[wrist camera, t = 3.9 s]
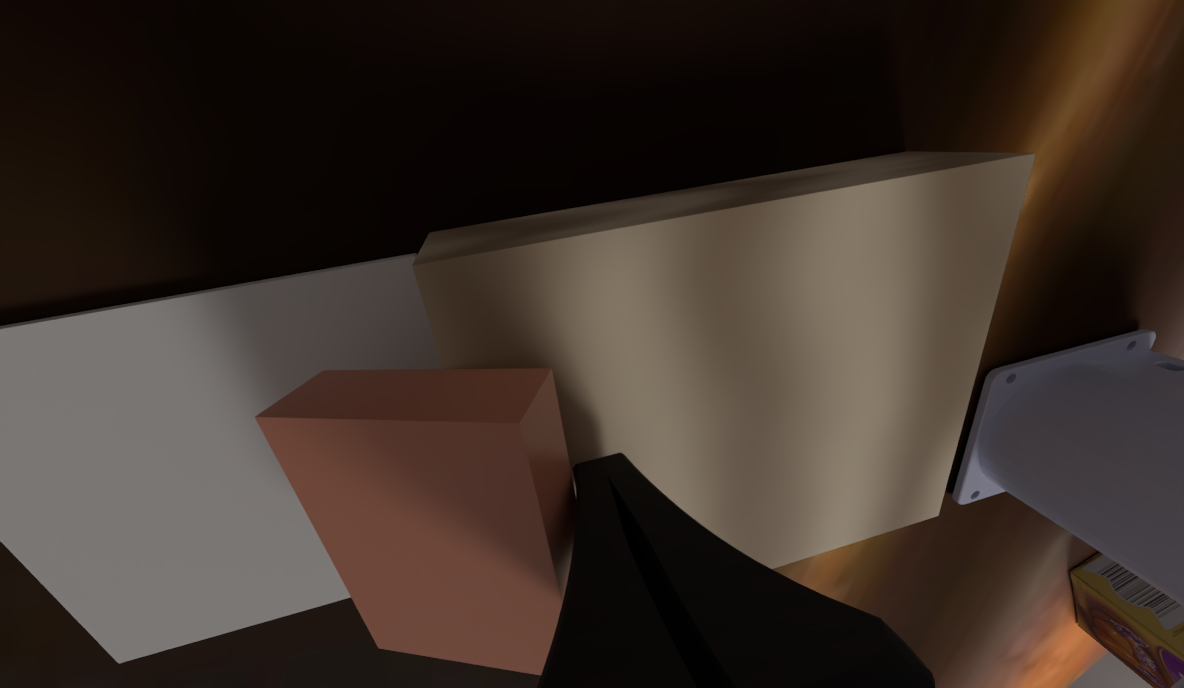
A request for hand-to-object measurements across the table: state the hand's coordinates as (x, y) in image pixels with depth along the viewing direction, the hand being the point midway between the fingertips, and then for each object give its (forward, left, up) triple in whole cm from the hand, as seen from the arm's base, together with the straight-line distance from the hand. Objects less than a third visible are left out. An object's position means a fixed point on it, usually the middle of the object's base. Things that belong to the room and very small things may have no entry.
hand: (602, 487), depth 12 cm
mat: (+10, 0, -5) cm, 11 cm away
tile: (+3, 0, -1) cm, 4 cm away
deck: (-5, 0, -5) cm, 7 cm away
